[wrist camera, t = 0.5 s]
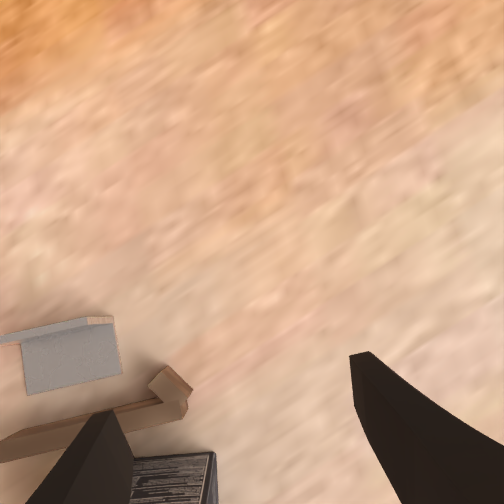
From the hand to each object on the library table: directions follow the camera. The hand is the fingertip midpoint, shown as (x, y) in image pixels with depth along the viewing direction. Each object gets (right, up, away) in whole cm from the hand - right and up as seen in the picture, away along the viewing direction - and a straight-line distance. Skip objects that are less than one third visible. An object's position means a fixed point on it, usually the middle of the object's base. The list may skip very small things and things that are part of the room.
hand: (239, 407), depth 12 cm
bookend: (-15, -4, +22) cm, 28 cm away
